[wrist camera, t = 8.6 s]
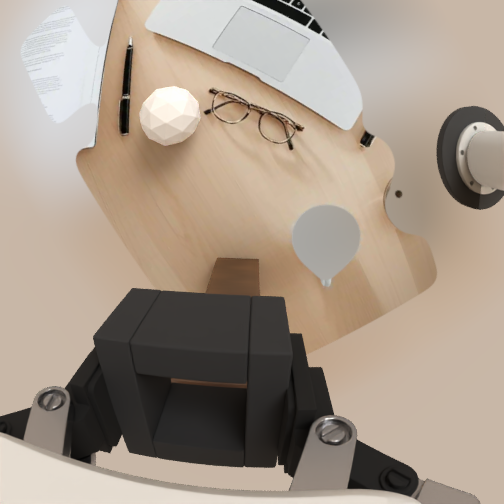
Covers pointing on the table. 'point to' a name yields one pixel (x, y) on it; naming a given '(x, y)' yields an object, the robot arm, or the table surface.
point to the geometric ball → (169, 115)
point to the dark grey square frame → (198, 375)
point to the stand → (232, 283)
